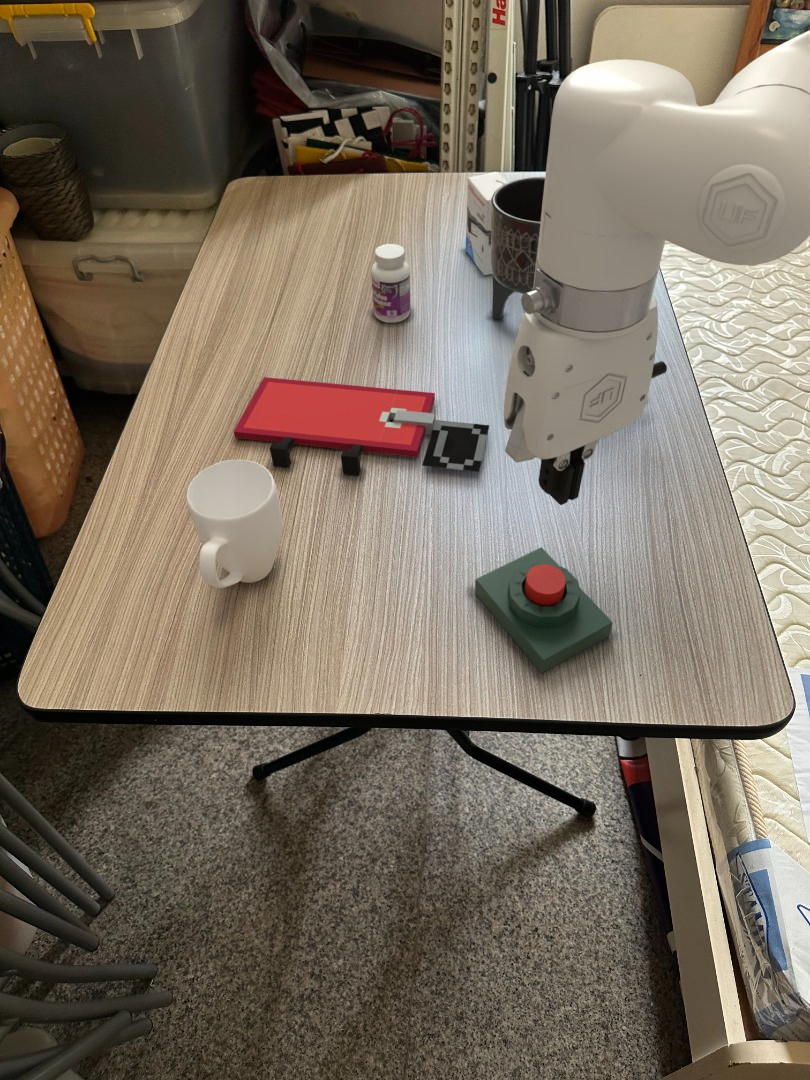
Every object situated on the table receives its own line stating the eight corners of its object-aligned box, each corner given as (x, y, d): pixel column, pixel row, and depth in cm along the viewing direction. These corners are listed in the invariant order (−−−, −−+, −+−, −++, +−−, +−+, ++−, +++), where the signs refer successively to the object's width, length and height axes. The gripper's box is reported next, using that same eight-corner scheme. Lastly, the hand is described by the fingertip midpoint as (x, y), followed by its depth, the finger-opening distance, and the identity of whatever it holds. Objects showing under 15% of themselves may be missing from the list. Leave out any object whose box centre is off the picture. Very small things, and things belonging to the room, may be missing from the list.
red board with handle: (476, 489, 87) (494, 407, 97) (477, 470, 85) (495, 389, 95) (224, 460, 92) (265, 386, 102) (219, 442, 90) (262, 368, 100)
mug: (228, 532, 85) (204, 453, 76) (301, 542, 83) (286, 463, 75) (185, 621, 77) (153, 544, 68) (265, 634, 75) (243, 557, 67)
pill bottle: (366, 318, 112) (362, 255, 104) (384, 300, 115) (381, 237, 108) (400, 327, 110) (397, 264, 103) (417, 309, 113) (416, 245, 106)
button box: (609, 636, 74) (616, 610, 71) (541, 673, 72) (545, 649, 69) (539, 560, 81) (543, 534, 78) (474, 592, 78) (475, 567, 75)
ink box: (463, 250, 124) (465, 175, 115) (493, 245, 125) (497, 169, 116) (483, 276, 118) (487, 199, 110) (513, 270, 119) (520, 193, 110)
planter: (538, 290, 115) (551, 167, 102) (597, 331, 108) (620, 203, 95) (466, 318, 111) (470, 193, 98) (523, 362, 103) (536, 234, 90)
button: (571, 595, 73) (573, 583, 72) (540, 611, 72) (542, 600, 70) (547, 570, 75) (549, 558, 74) (517, 585, 74) (518, 573, 72)
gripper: (532, 352, 45) (508, 557, 59) (721, 280, 50) (659, 485, 64) (462, 294, 50) (455, 497, 64) (642, 232, 55) (599, 434, 68)
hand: (557, 490), depth 64 cm, fingers closed
